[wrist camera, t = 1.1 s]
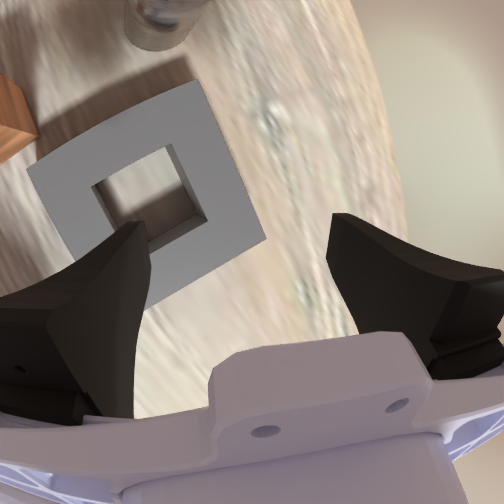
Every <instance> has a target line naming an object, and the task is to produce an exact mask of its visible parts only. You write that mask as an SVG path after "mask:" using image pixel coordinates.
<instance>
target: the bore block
mask: <svg viewBox="0 0 504 504" xmlns="http://www.w3.org/2000/svg"><path fill="white" fill-rule="evenodd" d="M163 147H166V149H167V152H168V154H169V156H170V158H171V160H172V162H173V164H174V166H175V169H176V171H177V173H178V175H179V177H180V179H181V181H182V183H183V185H184V187H185V189H186V192H187V194H188V196H189V198H190V200H191V202H192V204H193V206H194V208H195V210H196V212H197V214H196V215H194V216H192V217H191V218H189V219H187V220H185V221H183V222H182V223H180V224H178V225H176V226H174V227H173V228H171V229H169V230H167V231H166V232H164V233H162V234H160V235H159V236H157V237H155V238H153V239H152V240H150V241H148V242H147V244H148V249H149V255H150V260H151V266H152V268H151V278H150V286H149V291H148V295H147V299H146V303H145V307H144V310H146V309H148V308H150V307H151V306H153V305H155V304H156V303H158V302H160V301H161V300H163V299H165V298H167V297H168V296H170V295H172V294H173V293H175V292H177V291H178V290H180V289H182V288H184V287H185V286H187V285H189V284H190V283H192V282H194V281H196V280H197V279H199V278H201V277H202V276H204V275H206V274H207V273H209V272H211V271H213V270H214V269H216V268H218V267H219V266H221V265H223V264H225V263H226V262H228V261H230V260H231V259H233V258H235V257H237V256H238V255H240V254H242V253H243V252H245V251H247V250H249V249H250V248H252V247H254V246H255V245H257V244H259V243H261V242H262V241H264V240H266V239H267V238H266V236H265V234H264V231H263V229H262V226H261V224H260V222H259V219H258V217H257V214H256V212H255V210H254V207H253V205H252V203H251V200H250V198H249V196H248V193H247V191H246V189H245V186H244V184H243V181H242V179H241V177H240V174H239V172H238V170H237V167H236V165H235V163H234V160H233V158H232V156H231V154H230V151H229V149H228V147H227V144H226V142H225V140H224V137H223V135H222V133H221V131H220V128H219V126H218V124H217V121H216V119H215V117H214V115H213V112H212V110H211V108H210V105H209V103H208V101H207V99H206V96H205V94H204V92H203V90H202V87H201V85H200V83H199V81H198V79H195V80H193V81H190V82H188V83H185V84H183V85H180V86H178V87H175V88H173V89H171V90H168V91H166V92H163V93H161V94H159V95H157V96H154V97H152V98H150V99H148V100H146V101H143V102H141V103H139V104H137V105H135V106H133V107H131V108H129V109H127V110H125V111H123V112H121V113H119V114H117V115H115V116H113V117H111V118H109V119H107V120H105V121H103V122H102V123H100V124H98V125H96V126H94V127H92V128H91V129H89V130H87V131H85V132H84V133H82V134H80V135H78V136H77V137H75V138H73V139H72V140H70V141H68V142H67V143H65V144H64V145H62V146H60V147H59V148H57V149H56V150H54V151H52V152H51V153H49V154H48V155H46V156H45V157H43V158H42V159H40V160H39V161H37V162H36V163H34V164H33V165H31V166H30V167H29V168H27V169H26V170H27V172H28V174H29V177H30V179H31V181H32V183H33V185H34V187H35V189H36V191H37V193H38V195H39V197H40V199H41V201H42V203H43V205H44V207H45V209H46V211H47V212H48V214H49V216H50V218H51V220H52V222H53V224H54V225H55V227H56V229H57V231H58V232H59V234H60V236H61V238H62V239H63V241H64V243H65V245H66V246H67V248H68V250H69V251H70V253H71V255H72V256H73V258H74V260H75V261H77V260H79V259H80V258H82V257H83V256H84V255H86V254H87V253H88V252H90V251H91V250H92V249H94V248H95V247H96V246H98V245H99V244H100V243H102V242H103V241H104V240H105V239H106V238H108V237H109V236H110V235H111V234H113V233H114V232H115V231H116V230H118V227H117V225H116V224H115V222H114V220H113V218H112V216H111V214H110V213H109V211H108V209H107V207H106V205H105V203H104V201H103V199H102V197H101V196H100V194H99V192H98V190H97V188H96V186H95V184H97V183H98V182H100V181H102V180H103V179H105V178H107V177H108V176H110V175H112V174H114V173H116V172H117V171H119V170H121V169H123V168H124V167H126V166H128V165H130V164H132V163H134V162H136V161H137V160H139V159H141V158H143V157H145V156H147V155H149V154H151V153H153V152H155V151H157V150H159V149H161V148H163Z"/></svg>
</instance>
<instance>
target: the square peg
mask: <svg viewBox="0 0 504 504" xmlns="http://www.w3.org/2000/svg"><path fill="white" fill-rule="evenodd" d="M39 137H40V135H39V133H38V130H37V128H36V126H35V123H34V121H33V118H32V116H31V113H30V111H29V108H28V105H27V103H26V100H25V97H24V95H23V92H22V89H21V88H20V87H18V86H17V85H16V84H14V83H13V82H12V81H11V80H9V79H8V78H7V77H5V76H4V75H3V74H1V73H0V165H1V164H3V163H4V162H5V161H6V160H8V159H9V158H10V157H12V156H13V155H15V154H16V153H17V152H19V151H20V150H22V149H23V148H24V147H26V146H27V145H29V144H30V143H32V142H33V141H35V140H36V139H38V138H39Z"/></svg>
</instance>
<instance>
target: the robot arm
mask: <svg viewBox="0 0 504 504" xmlns="http://www.w3.org/2000/svg"><path fill="white" fill-rule="evenodd" d="M326 260H327V263H328V266H329V269H330V272H331V275H332V277H333V279H334V282H335V284H336V286H337V287H338V289H339V291H340V293H341V295H342V297H343V299H344V301H345V303H346V305H347V307H348V309H349V311H350V313H351V315H352V317H353V319H354V321H355V324H356V326H357V329H358V332H359V335H353V336H346V337H339V338H332V339H324V340H316V341H308V342H299V343H290V344H280V345H269V346H261V347H257V348H253V349H249V350H245V351H241V352H236V353H235V354H233V355H231V356H230V357H229V358H227V359H226V360H224V361H223V362H221V363H220V364H219V365H217V366H216V367H214V368H213V370H212V373H211V376H210V379H209V382H208V398H209V406H207V407H203V408H198V409H193V410H188V411H183V412H178V413H173V414H167V415H161V416H155V417H149V418H143V419H134V368H135V355H136V344H137V338H138V332H139V328H140V324H141V320H142V315H143V311H144V307H145V303H146V299H147V295H148V291H149V286H150V278H151V268H152V266H151V260H150V255H149V249H148V244H147V238H146V232H145V225H144V221H136V222H128V223H126V224H124V225H123V226H122V227H120V228H119V229H118V230H116V231H115V232H114V233H113V234H111V235H110V236H109V237H108V238H106V239H105V240H104V241H103V242H102V243H100V244H99V245H98V246H96V247H95V248H94V249H92V250H91V251H90V252H88V253H87V254H86V255H84V256H83V257H82V258H80V259H79V260H77V261H76V262H74V263H73V264H71V265H69V266H68V267H66V268H65V269H63V270H61V271H60V272H58V273H56V274H54V275H52V276H50V277H48V278H46V279H44V280H42V281H41V282H38V283H36V284H34V285H32V286H30V287H27V288H25V289H22V290H20V291H17V292H15V293H12V294H9V295H6V296H3V297H0V504H469V503H468V500H467V498H466V495H465V493H464V490H463V488H462V485H461V483H460V480H459V478H458V475H457V473H456V470H455V468H454V466H453V463H452V462H453V461H455V460H456V459H458V458H460V457H462V456H463V455H465V454H467V453H469V452H470V451H472V450H474V449H475V448H477V447H478V446H480V445H482V444H483V443H485V442H486V441H488V440H490V439H491V438H492V437H494V436H496V435H497V434H499V433H500V432H502V431H503V430H504V344H503V345H502V344H501V342H500V341H499V340H498V338H500V336H501V332H500V330H499V329H498V328H497V326H498V324H499V322H500V321H501V319H502V317H503V315H504V272H503V271H502V270H500V269H494V268H487V267H481V266H475V265H471V264H467V263H463V262H458V261H455V260H451V259H448V258H445V257H442V256H439V255H436V254H433V253H430V252H428V251H425V250H423V249H420V248H418V247H415V246H413V245H411V244H409V243H407V242H404V241H402V240H400V239H398V238H396V237H394V236H392V235H390V234H388V233H387V232H385V231H383V230H381V229H379V228H377V227H375V226H373V225H372V224H370V223H368V222H366V221H364V220H362V219H360V218H358V217H356V216H354V215H351V214H348V213H333V214H332V221H331V228H330V234H329V241H328V247H327V253H326Z"/></svg>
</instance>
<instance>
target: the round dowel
mask: <svg viewBox="0 0 504 504" xmlns="http://www.w3.org/2000/svg"><path fill="white" fill-rule="evenodd" d="M210 1H211V0H127V5H126V13H125V22H124V29H125V33H126V36H127V38H128V39H129V40H130V42H131V43H132V44H134V45H135V46H137V47H138V48H140V49H143V50H147V51H164V50H168V49H171V48H173V47H175V46H177V45H178V44H180V43H181V42H182V41H183V40H184V39H185V38H186V36H187V35H188V33H189V32H190V30H191V28H192V27H193V25H194V24H195V22H196V21H197V19H198V18H199V16H200V15H201V13H202V12H203V11H204V9H205V8H206V6H207V5H208V3H209V2H210Z"/></svg>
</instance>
